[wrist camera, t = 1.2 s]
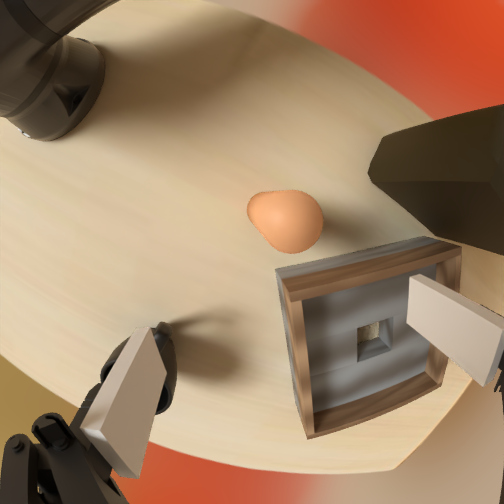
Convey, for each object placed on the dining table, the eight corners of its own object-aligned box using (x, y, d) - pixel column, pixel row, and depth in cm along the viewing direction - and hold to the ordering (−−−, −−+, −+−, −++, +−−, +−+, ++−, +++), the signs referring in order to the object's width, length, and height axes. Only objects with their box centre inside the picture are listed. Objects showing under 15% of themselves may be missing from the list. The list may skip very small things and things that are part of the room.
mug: (209, 317, 33) (203, 361, 23) (168, 379, 34) (155, 425, 25) (151, 283, 31) (125, 315, 22) (117, 350, 33) (92, 391, 23)
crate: (275, 269, 32) (289, 292, 24) (423, 236, 33) (461, 246, 25) (295, 402, 37) (307, 439, 29) (416, 361, 38) (441, 386, 30)
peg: (243, 195, 30) (255, 196, 16) (278, 189, 30) (317, 185, 17) (250, 230, 31) (267, 259, 17) (284, 223, 31) (326, 246, 17)
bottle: (436, 239, 33) (577, 288, 9) (360, 176, 31) (551, 172, 6) (455, 194, 32) (592, 214, 8) (383, 127, 29) (548, 80, 5)
